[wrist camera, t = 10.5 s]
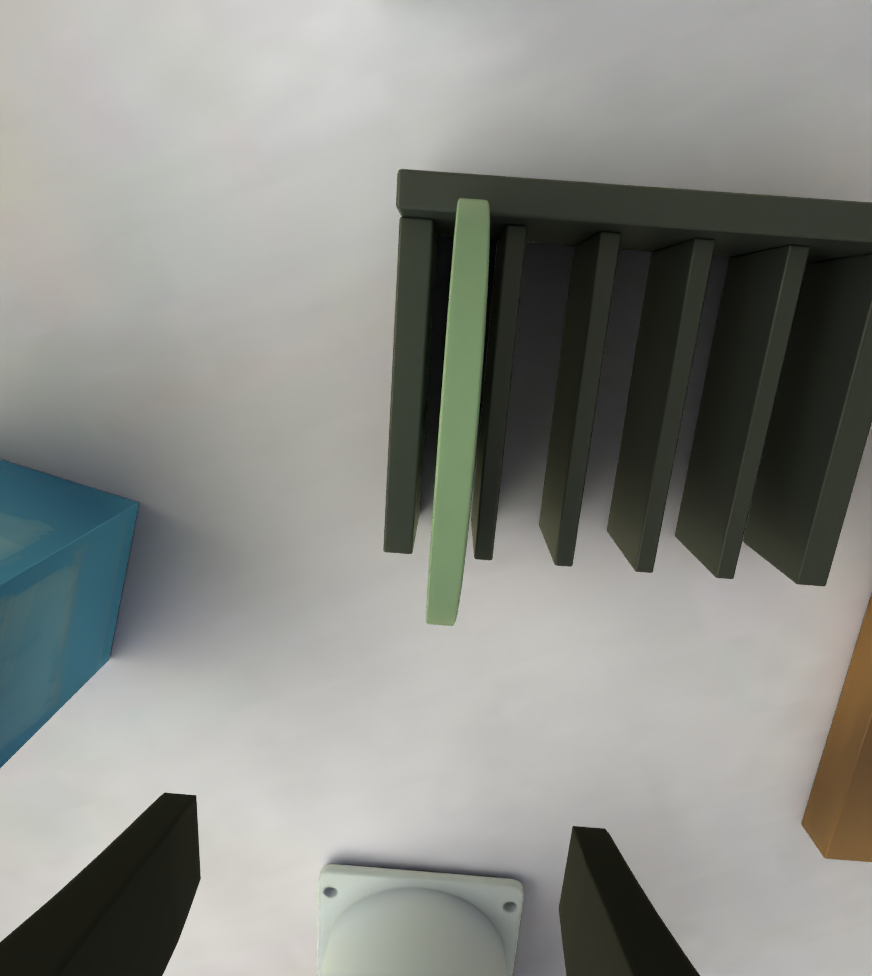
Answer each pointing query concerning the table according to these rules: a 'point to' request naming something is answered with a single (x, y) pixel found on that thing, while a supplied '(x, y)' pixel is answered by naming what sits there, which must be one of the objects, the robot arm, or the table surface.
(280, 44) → the table surface
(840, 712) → the cutting board
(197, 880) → the robot arm
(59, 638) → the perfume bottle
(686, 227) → the dish rack
